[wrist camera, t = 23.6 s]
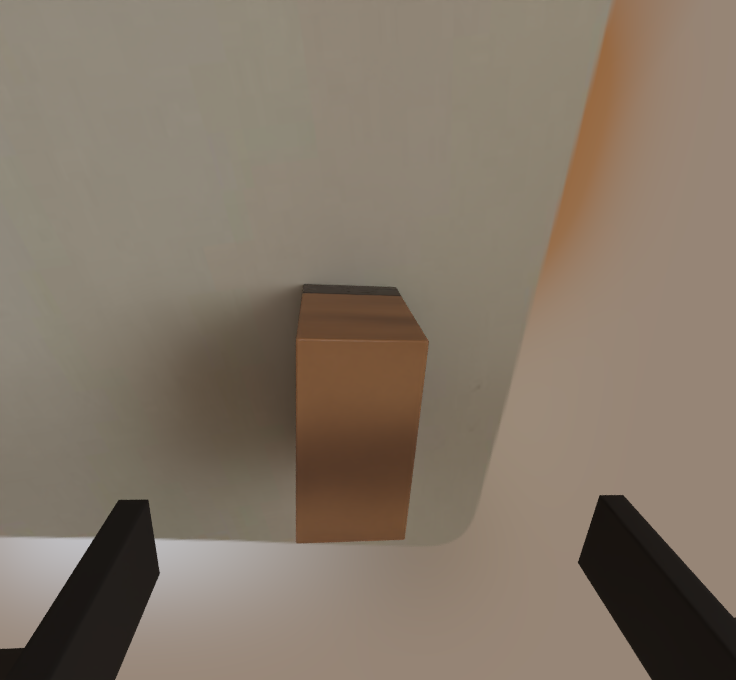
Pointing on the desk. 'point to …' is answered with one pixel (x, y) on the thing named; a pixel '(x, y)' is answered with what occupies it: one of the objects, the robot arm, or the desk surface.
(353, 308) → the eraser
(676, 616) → the robot arm
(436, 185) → the desk surface
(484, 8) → the desk surface
